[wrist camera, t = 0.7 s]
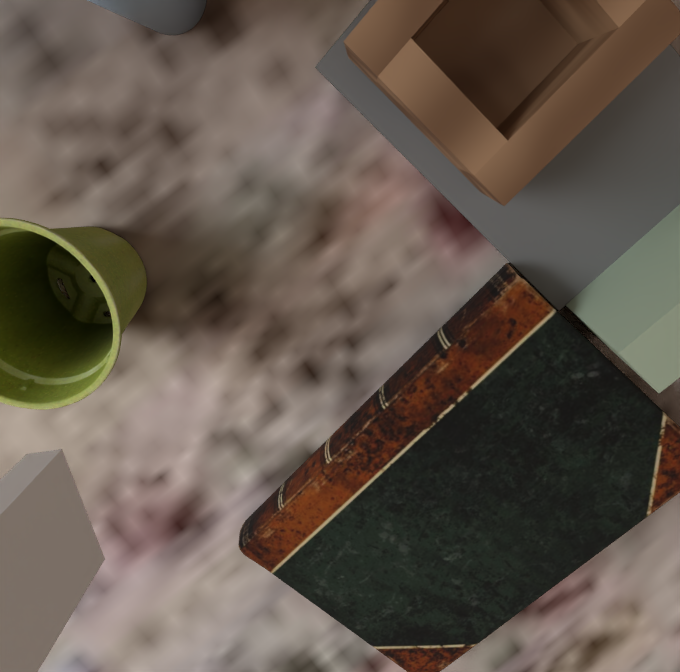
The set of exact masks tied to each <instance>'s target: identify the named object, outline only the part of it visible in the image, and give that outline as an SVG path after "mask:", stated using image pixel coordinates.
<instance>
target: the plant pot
mask: <svg viewBox="0 0 680 672" xmlns="http://www.w3.org/2000/svg"><path fill="white" fill-rule="evenodd" d="M91 275H92V276H93V278H94V279H95V280H96V282H92V281H91V279H90V277H91ZM59 278H60V279H62V281H63V284H64V287H65V289H66V292H67V293H68V296H69V297H70V299H69V298H67V297H65V295H63V293H62V292H61V290H60V289H59V286H58V283H57V279H59ZM146 288H147V278H146V272H145V268H144V265H143V263H142V261H141V259H140V257H139V255H138V254H137V252H136V251H135V250H134V248H133V247H132V246H131V245H130V244H129V243H128V242H127V241H126V240H124V239H123V238H121V237H119V236H117V235H115V234H113V233H111V232H109V231H107V230H104V229H102V228H98V227H73V228H58V229H49V228H46V227H44V226H41V225H39V224H36V223H32V222H29V221H25V220H19V219H13V218H0V402H1V403H4V404H7V405H11V406H16V407H20V408H28V409H39V410H46V409H55V408H60V407H64V406H67V405H70V404H73V403H76V402H78V401H80V400H82V399H84V398H85V397H87V396H88V395H90V394H91V393H93V392H94V391H95V390H96V389H97V388H98V387H99V386H100V385H101V384H102V383H103V382H104V381H105V380H106V378H107V377H108V375H109V374H110V372H111V371H112V369H113V367H114V365H115V363H116V360H117V358H118V355H119V351H120V346H121V337H122V333H123V332H124V330H125V328H126V327H127V325H128V324H129V322H130V321H131V320H132V318H133V317H134V315H135V314H136V312H137V311H138V309H139V308H140V306H141V304H142V302H143V299H144V296H145V293H146ZM106 311H107V312H108V311H110V313H111V317H106V316H105V315H104V312H106Z"/></svg>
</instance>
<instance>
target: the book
mask: <svg viewBox="0 0 680 672" xmlns="http://www.w3.org/2000/svg"><path fill="white" fill-rule="evenodd" d="M679 492H680V427H679V426H678V425H677V424H676V423H675V422H674V421H673V420H672V419H671V418H670V417H668V416H667V415H666V414H665V413H664V412H663V411H662V410H661V409H660V408H659V407H658V406H657V405H656V404H655V403H654V402H653V401H652V400H651V399H650V398H649V397H648V396H646V395H645V394H644V393H643V392H642V391H641V390H640V389H639V388H638V387H637V386H636V385H635V384H634V383H633V382H632V381H631V380H630V379H629V378H628V377H627V376H625V375H624V374H623V373H622V372H621V371H620V370H619V369H618V368H617V367H616V366H615V365H614V364H613V363H612V362H611V361H610V360H608V359H607V358H606V357H605V356H604V355H603V354H602V353H601V352H600V351H599V350H598V349H597V348H596V347H595V346H594V345H593V344H591V343H590V342H589V341H588V340H587V339H586V338H585V337H584V336H583V335H582V334H581V333H580V332H579V331H578V330H577V329H575V328H574V327H573V326H572V325H571V324H570V323H569V322H568V321H567V320H566V319H565V318H564V317H563V316H562V315H561V314H560V313H558V312H557V311H556V310H555V309H554V308H553V307H552V306H551V305H550V304H549V303H548V302H547V301H546V300H545V299H544V298H543V297H542V296H541V295H540V294H539V293H538V292H537V291H536V290H535V289H534V288H533V287H532V286H531V285H530V284H529V283H528V282H526V281H525V280H524V279H523V278H521V277H520V276H518V275H517V273H516V272H515V270H514V269H513V268H512V267H511V266H510V265H509V264H507V263H506V264H505V265H504V266H503V267H502V268H501V269H500V270H499V271H498V272H497V273H496V274H495V275H494V276H493V277H492V278H491V279H490V280H489V281H488V282H487V283H486V284H485V285H484V286H483V287H482V288H481V289H480V290H479V291H478V292H477V293H476V294H475V295H474V296H473V297H472V298H471V299H470V300H469V301H468V302H467V303H466V304H465V305H464V306H463V307H462V308H461V309H460V310H459V311H458V312H457V313H456V314H455V315H454V316H453V317H452V318H451V319H450V320H449V321H447V322H446V323H445V324H444V325H443V326H442V327H441V328H440V329H439V330H438V331H437V332H436V333H435V334H434V335H433V336H432V337H431V338H430V339H429V340H428V341H427V342H426V343H425V344H424V345H423V346H422V347H421V348H420V349H419V350H418V351H417V352H416V353H415V354H414V355H413V356H412V357H411V358H410V359H409V360H408V361H407V362H406V363H405V364H404V365H403V366H402V367H401V368H400V369H399V370H398V371H397V372H396V373H395V374H394V375H392V376H391V377H390V378H389V379H388V380H387V381H386V382H385V383H384V384H383V385H382V386H381V387H380V388H379V389H378V390H377V391H376V392H375V393H374V394H373V395H372V396H371V397H370V398H369V399H368V400H367V401H366V402H365V403H364V404H363V405H362V406H361V407H360V408H359V409H358V410H357V411H356V412H355V413H354V414H353V415H352V416H351V417H350V418H349V419H348V420H347V421H346V422H345V423H344V424H343V425H342V426H341V427H340V428H339V429H338V430H337V431H336V432H335V433H334V434H333V435H332V436H331V437H330V438H329V439H328V440H327V441H326V442H325V443H324V444H323V445H322V446H321V447H320V448H319V449H317V450H316V451H315V452H314V453H313V454H312V455H311V456H310V457H309V458H308V459H307V460H306V461H305V462H304V463H303V464H302V465H301V466H300V467H299V468H298V469H297V470H296V471H295V472H294V473H293V474H292V475H291V476H290V477H289V478H288V479H287V480H286V481H285V482H284V483H283V484H282V485H281V486H280V487H279V488H278V489H277V490H276V491H275V492H274V493H273V494H272V495H271V496H270V497H269V498H268V499H267V500H266V501H265V502H264V503H263V504H262V505H261V506H260V507H259V508H258V509H257V510H256V511H255V512H254V513H253V514H252V515H251V516H250V517H249V518H248V519H247V520H246V521H245V522H244V524H243V526H242V528H241V530H240V536H239V548H240V550H241V551H242V553H243V554H244V555H245V556H247V557H249V558H250V559H252V560H253V561H255V562H256V563H258V564H259V565H261V566H262V567H264V568H265V569H267V570H268V571H269V572H271V573H272V574H274V575H275V576H276V577H278V578H279V579H281V580H282V581H283V582H285V583H286V584H287V585H289V586H290V587H292V588H293V589H294V590H296V591H297V592H298V593H300V594H301V595H303V596H304V597H305V598H307V599H308V600H309V601H311V602H312V603H314V604H315V605H316V606H318V607H319V608H321V609H322V610H323V611H325V612H326V613H327V614H329V615H330V616H332V617H333V618H334V619H336V620H337V621H338V622H340V623H341V624H343V625H344V626H345V627H347V628H348V629H349V630H351V631H352V632H354V633H355V634H356V635H358V636H359V637H361V638H362V639H363V640H365V641H366V642H367V643H369V644H370V645H372V646H373V647H374V648H376V649H377V650H378V651H380V652H381V653H382V654H384V655H385V656H387V657H388V658H389V659H391V660H392V661H393V662H395V663H396V664H398V665H399V666H400V667H402V668H403V669H404V670H406V671H407V672H440V671H441V670H443V669H444V668H445V667H447V666H448V665H450V664H451V663H452V662H454V661H455V660H456V659H458V658H459V657H460V656H462V655H463V654H464V653H466V652H467V651H468V650H470V649H471V648H472V647H474V646H475V645H476V644H478V643H479V642H480V641H482V640H483V639H484V638H486V637H487V636H488V635H490V634H491V633H492V632H494V631H495V630H496V629H498V628H499V627H500V626H502V625H503V624H504V623H506V622H507V621H508V620H510V619H511V618H512V617H514V616H515V615H516V614H518V613H519V612H520V611H522V610H523V609H524V608H526V607H527V606H528V605H530V604H531V603H532V602H534V601H535V600H536V599H538V598H539V597H540V596H542V595H543V594H544V593H546V592H547V591H548V590H550V589H551V588H552V587H554V586H555V585H556V584H558V583H559V582H560V581H562V580H563V579H564V578H566V577H567V576H568V575H570V574H571V573H572V572H574V571H575V570H576V569H578V568H579V567H580V566H582V565H583V564H584V563H586V562H587V561H588V560H590V559H591V558H592V557H594V556H595V555H596V554H598V553H599V552H600V551H602V550H603V549H604V548H606V547H607V546H608V545H610V544H611V543H612V542H614V541H615V540H617V539H618V538H619V537H621V536H622V535H623V534H625V533H626V532H627V531H629V530H630V529H631V528H633V527H634V526H635V525H637V524H638V523H639V522H641V521H642V520H643V519H645V518H646V517H647V516H649V515H650V514H651V513H653V512H654V511H655V510H657V509H658V508H659V507H661V506H662V505H663V504H665V503H666V502H667V501H669V500H670V499H671V498H673V497H674V496H675V495H677V494H678V493H679Z"/></svg>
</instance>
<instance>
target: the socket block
mask: <svg viewBox="0 0 680 672" xmlns="http://www.w3.org/2000/svg"><path fill="white" fill-rule="evenodd" d="M679 35H680V11H679V10H678V8H677V7H676V6H675V5H674V3H673V2H672V1H671V0H377V2H376V3H375V4H374V5H373V6H372V8H371V9H370V10H369V11H368V12H367V14H366V15H365V16H364V17H363V18H362V20H361V21H360V22H359V23H358V25H357V26H356V27H355V28H354V29H353V31H352V32H351V33H350V34H349V35H348V37H347V38H346V39H345V40H344V41H343V42H344V45H345V48H346V52H347V55H348V58H349V59H350V60H351V61H352V62H353V63H354V64H355V65H356V66H357V67H358V68H359V69H360V70H361V71H362V72H363V73H364V74H365V75H366V76H367V77H368V78H369V79H370V80H371V81H372V82H373V83H374V84H375V85H376V86H377V87H378V88H379V89H380V90H381V91H382V92H383V93H384V94H385V95H386V96H387V98H388V99H389V100H390V101H391V102H392V103H393V104H394V105H395V106H396V107H397V108H398V109H399V110H400V111H401V112H402V113H403V114H404V115H405V116H406V117H407V118H408V119H409V120H410V121H411V122H412V123H413V124H414V125H415V126H416V127H417V128H418V129H419V130H420V131H421V132H422V133H423V134H424V135H425V136H426V137H427V138H428V139H429V140H430V141H431V142H432V143H433V144H434V145H435V146H436V147H437V149H438V150H439V151H440V152H441V153H442V154H443V155H444V156H445V157H446V158H447V159H448V160H449V161H450V162H451V163H452V164H453V165H454V166H455V167H456V168H457V169H458V170H459V171H460V172H461V173H462V174H463V175H464V176H465V177H466V178H467V179H468V180H469V181H470V182H471V183H472V184H473V185H474V186H475V187H476V188H477V189H478V190H479V191H480V192H481V193H482V194H484V195H486V196H488V197H489V198H491V199H493V200H494V201H496V202H498V203H499V204H501V205H503V206H505V205H506V204H507V203H508V202H509V201H510V200H511V199H512V198H513V197H514V196H515V195H516V194H517V193H518V192H519V191H520V190H522V189H523V188H524V187H525V186H526V185H527V184H528V183H529V182H530V181H531V180H532V179H533V178H534V177H535V176H536V175H537V174H538V173H539V172H540V171H541V170H542V169H543V168H544V167H545V166H546V165H547V164H548V163H549V162H550V161H551V160H552V159H553V158H554V157H555V156H556V155H557V154H558V153H559V152H560V151H561V150H562V149H563V148H564V147H565V146H566V145H567V144H568V143H569V142H570V141H571V140H573V139H574V138H575V137H576V136H577V135H578V134H579V133H580V132H581V131H582V130H583V129H584V128H585V127H586V126H587V125H588V124H589V123H590V122H591V121H592V120H593V119H594V118H595V117H596V116H597V115H598V114H599V113H600V112H601V111H602V110H603V109H604V108H605V107H606V106H607V105H608V104H609V103H610V102H611V101H612V100H613V99H614V98H615V97H616V96H617V95H618V94H619V93H620V92H621V91H622V90H623V89H625V88H626V87H627V86H628V85H629V84H630V83H631V82H632V81H633V80H634V79H635V78H636V77H637V76H638V75H639V74H640V73H641V72H642V71H643V70H644V69H645V68H646V67H647V66H648V65H649V64H650V63H651V62H652V61H653V60H654V59H655V58H656V57H657V56H658V55H659V54H660V53H661V52H662V51H663V50H664V49H665V48H666V47H667V46H668V45H669V44H670V43H671V42H672V41H673V40H674V39H676V38H677V37H678V36H679Z"/></svg>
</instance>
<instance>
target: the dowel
mask: <svg viewBox="0 0 680 672" xmlns="http://www.w3.org/2000/svg"><path fill="white" fill-rule="evenodd" d="M88 1H90V2H92V3H94V4H96V5H99V6H101V7H103V8H105V9H108V10H110V11H112V12H114V13H116V14H119V15H121V16H123V17H125V18H128V19H130V20H132V21H134V22H137V23H139V24H141V25H143V26H145V27H148V28H150V29H152V30H154V31H157V32H159V33H162V34H166V35H178V34H182V33H185V32H187V31H189V30H190V29H192V28H193V27H194V26H195V25H196V24H197V23H198V21H199V20H200V18H201V17H202V15H203V12H204V10H205V6H206V0H88Z"/></svg>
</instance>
